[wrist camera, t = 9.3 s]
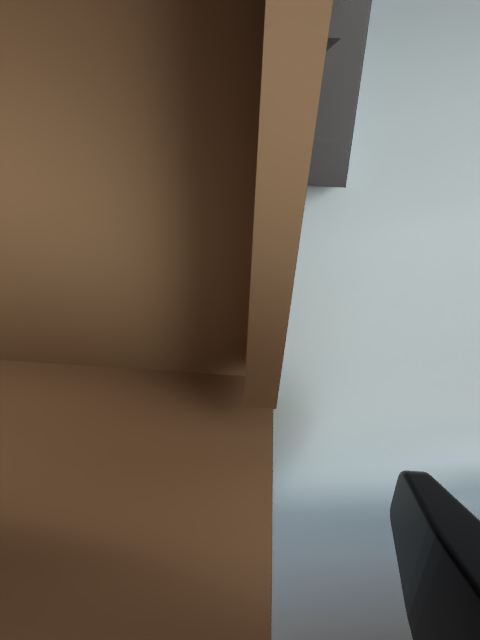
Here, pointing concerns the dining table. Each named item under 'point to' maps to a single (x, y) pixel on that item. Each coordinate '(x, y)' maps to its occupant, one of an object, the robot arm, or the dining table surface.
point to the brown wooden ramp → (147, 307)
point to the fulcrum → (339, 93)
